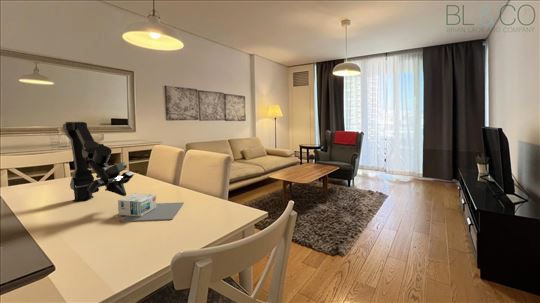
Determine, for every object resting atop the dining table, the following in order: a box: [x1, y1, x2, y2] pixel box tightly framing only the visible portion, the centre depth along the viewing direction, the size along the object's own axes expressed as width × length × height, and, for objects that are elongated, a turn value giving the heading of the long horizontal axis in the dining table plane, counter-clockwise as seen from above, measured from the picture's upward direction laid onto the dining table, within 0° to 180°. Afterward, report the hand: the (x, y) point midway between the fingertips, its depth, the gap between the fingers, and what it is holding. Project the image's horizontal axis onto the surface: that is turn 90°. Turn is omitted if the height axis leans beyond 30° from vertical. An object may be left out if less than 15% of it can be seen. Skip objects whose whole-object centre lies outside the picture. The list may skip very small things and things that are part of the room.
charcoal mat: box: [119, 201, 185, 223], centre depth 109 cm, size 20×20×1 cm
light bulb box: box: [117, 192, 157, 217], centre depth 108 cm, size 11×7×11 cm
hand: (125, 195), depth 108 cm, fingers closed
